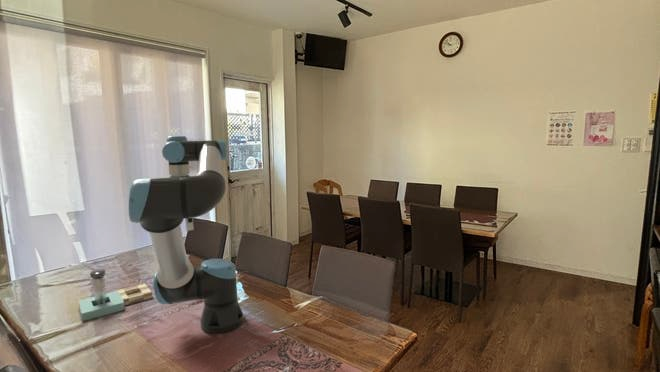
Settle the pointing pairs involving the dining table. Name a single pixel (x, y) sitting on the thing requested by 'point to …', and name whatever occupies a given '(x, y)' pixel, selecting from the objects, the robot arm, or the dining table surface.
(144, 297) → the mount
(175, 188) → the robot arm
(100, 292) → the pin
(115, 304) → the dock
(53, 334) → the dining table surface
